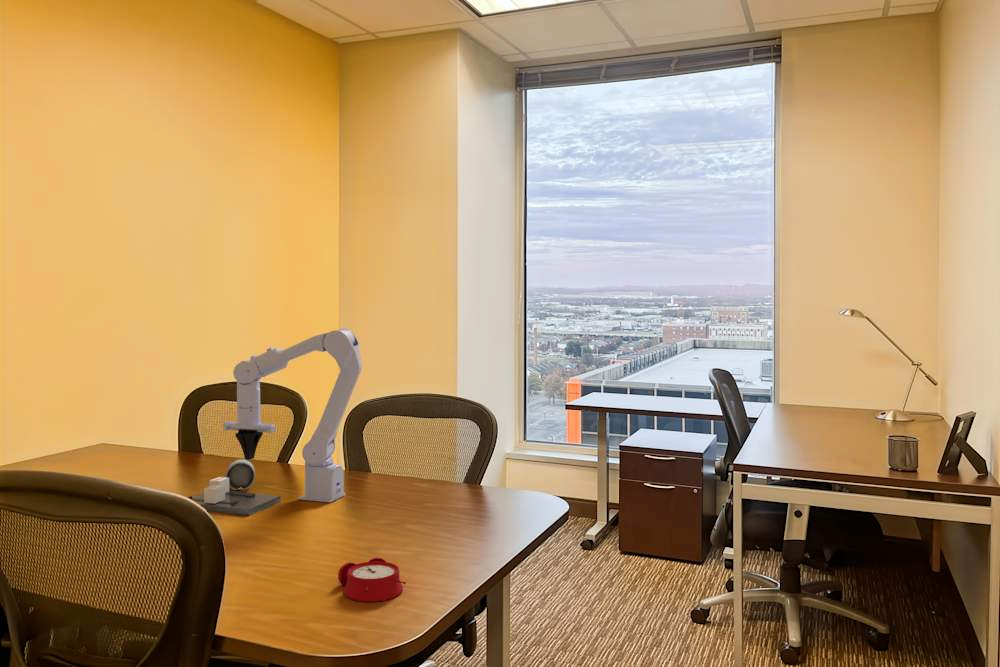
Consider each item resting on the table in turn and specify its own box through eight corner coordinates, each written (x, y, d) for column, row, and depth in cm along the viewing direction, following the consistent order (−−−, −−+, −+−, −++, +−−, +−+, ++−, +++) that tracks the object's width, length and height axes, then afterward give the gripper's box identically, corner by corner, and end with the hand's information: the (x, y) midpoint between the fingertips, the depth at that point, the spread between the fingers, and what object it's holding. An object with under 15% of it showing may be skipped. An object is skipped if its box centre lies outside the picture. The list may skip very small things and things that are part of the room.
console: (280, 501, 199) (280, 494, 199) (248, 515, 187) (248, 507, 187) (214, 494, 205) (214, 487, 205) (179, 507, 193) (179, 499, 193)
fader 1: (229, 491, 203) (229, 477, 202) (219, 495, 199) (219, 480, 199) (219, 490, 204) (219, 476, 203) (209, 494, 200) (209, 480, 200)
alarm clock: (358, 589, 133) (330, 545, 145) (355, 621, 134) (327, 575, 147) (414, 578, 138) (382, 536, 150) (411, 609, 140) (380, 565, 152)
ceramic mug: (255, 482, 218) (254, 455, 218) (255, 489, 211) (254, 461, 210) (214, 486, 215) (213, 458, 215) (213, 493, 207) (212, 464, 207)
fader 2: (225, 499, 195) (224, 485, 194) (214, 503, 191) (214, 489, 191) (215, 498, 196) (214, 484, 195) (204, 502, 192) (204, 487, 192)
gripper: (282, 405, 204) (282, 457, 205) (234, 403, 209) (235, 453, 210) (265, 409, 198) (266, 463, 198) (217, 406, 202) (218, 459, 203)
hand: (249, 458), depth 204 cm, fingers closed
